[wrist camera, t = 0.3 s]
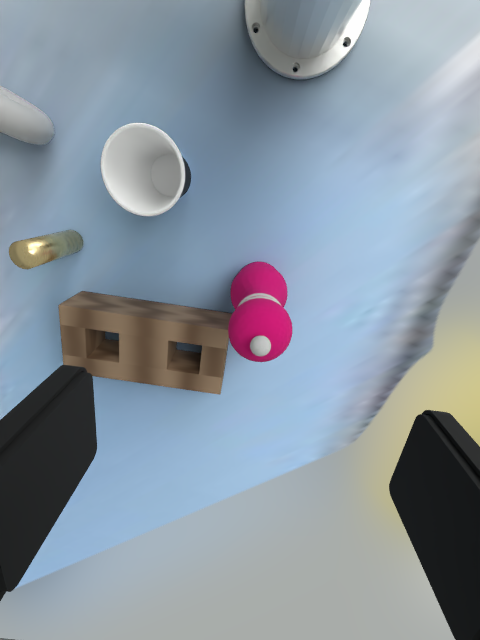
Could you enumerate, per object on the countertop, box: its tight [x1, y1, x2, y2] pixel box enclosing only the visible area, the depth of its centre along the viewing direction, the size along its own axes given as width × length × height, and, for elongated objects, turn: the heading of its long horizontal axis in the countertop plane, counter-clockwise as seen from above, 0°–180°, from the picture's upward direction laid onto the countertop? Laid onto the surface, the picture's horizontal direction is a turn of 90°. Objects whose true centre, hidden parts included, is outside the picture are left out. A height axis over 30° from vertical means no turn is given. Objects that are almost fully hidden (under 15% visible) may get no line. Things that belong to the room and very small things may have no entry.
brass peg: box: [9, 230, 83, 269], centre depth 39 cm, size 3×3×10 cm
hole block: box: [59, 291, 232, 394], centre depth 45 cm, size 22×10×6 cm, turn 82°
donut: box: [0, 86, 55, 145], centre depth 33 cm, size 10×4×10 cm, turn 59°
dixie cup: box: [101, 123, 191, 216], centre depth 35 cm, size 8×8×11 cm
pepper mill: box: [228, 262, 292, 362], centre depth 35 cm, size 7×7×20 cm
